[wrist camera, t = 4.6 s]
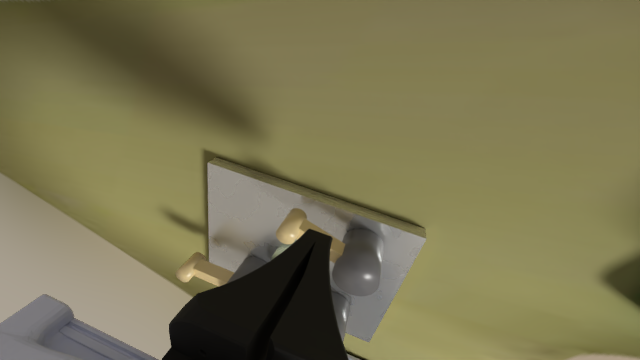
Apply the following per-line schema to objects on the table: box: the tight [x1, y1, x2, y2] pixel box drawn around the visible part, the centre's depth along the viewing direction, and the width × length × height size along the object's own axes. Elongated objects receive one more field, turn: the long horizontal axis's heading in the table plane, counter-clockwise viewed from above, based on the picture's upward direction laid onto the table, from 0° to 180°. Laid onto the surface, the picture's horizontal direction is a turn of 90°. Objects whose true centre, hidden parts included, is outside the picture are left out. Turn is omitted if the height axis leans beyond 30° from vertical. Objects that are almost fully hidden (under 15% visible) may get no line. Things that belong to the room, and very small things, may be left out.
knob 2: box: [276, 208, 384, 296], centre depth 19 cm, size 8×3×4 cm, turn 63°
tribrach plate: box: [208, 157, 426, 342], centre depth 24 cm, size 14×18×2 cm
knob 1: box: [175, 252, 266, 286], centre depth 24 cm, size 8×3×4 cm, turn 79°
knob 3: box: [331, 292, 350, 341], centre depth 24 cm, size 8×3×4 cm, turn 169°
